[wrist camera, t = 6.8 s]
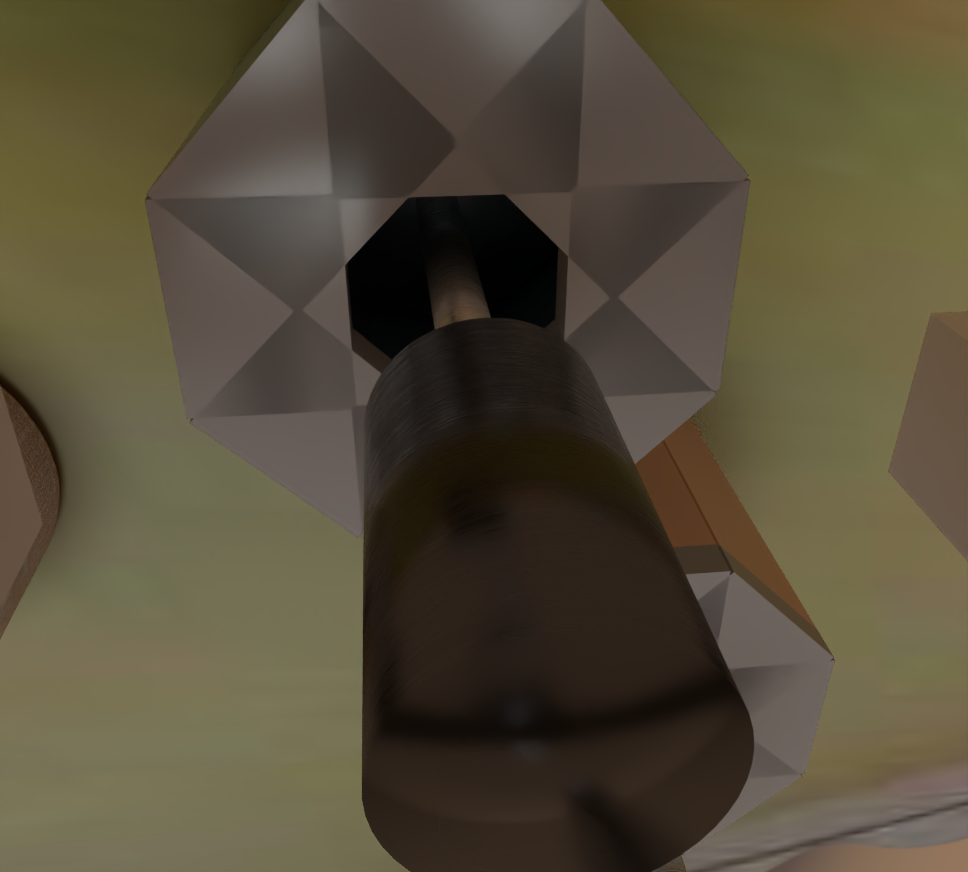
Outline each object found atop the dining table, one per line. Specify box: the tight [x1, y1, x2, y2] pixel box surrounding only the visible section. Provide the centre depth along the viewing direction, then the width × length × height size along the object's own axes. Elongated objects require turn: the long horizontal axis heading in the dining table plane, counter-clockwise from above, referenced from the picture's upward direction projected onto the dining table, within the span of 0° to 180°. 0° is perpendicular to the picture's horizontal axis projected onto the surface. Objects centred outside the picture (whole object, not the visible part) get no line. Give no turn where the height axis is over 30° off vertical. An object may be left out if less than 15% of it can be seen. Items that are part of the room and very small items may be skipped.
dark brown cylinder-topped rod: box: [347, 194, 754, 872], centre depth 16 cm, size 8×8×20 cm
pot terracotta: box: [635, 418, 835, 855], centre depth 29 cm, size 13×10×12 cm
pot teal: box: [145, 0, 750, 539], centre depth 21 cm, size 13×10×12 cm
